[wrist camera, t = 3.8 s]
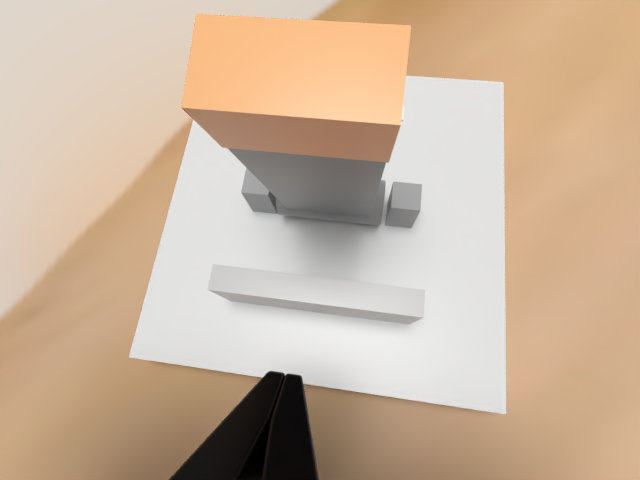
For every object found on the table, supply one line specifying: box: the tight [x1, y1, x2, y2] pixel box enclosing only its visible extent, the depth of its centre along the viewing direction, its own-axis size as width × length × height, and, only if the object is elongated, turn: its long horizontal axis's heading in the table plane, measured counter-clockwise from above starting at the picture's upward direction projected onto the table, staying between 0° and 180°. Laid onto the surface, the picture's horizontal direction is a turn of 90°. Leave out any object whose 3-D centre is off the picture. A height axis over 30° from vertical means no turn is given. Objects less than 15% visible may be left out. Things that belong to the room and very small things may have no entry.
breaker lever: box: [182, 14, 411, 226], centre depth 12 cm, size 2×5×12 cm, turn 82°
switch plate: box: [129, 76, 506, 414], centre depth 17 cm, size 16×16×5 cm
